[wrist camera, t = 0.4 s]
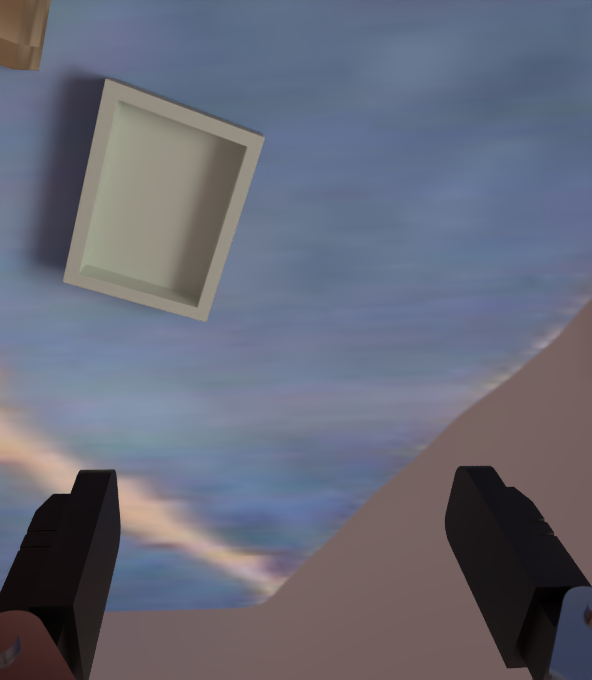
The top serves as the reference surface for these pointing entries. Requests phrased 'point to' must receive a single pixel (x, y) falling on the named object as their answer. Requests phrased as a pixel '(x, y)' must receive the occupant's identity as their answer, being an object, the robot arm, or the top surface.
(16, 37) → the oak block
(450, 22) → the top surface
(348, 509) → the top surface
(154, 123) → the tray
